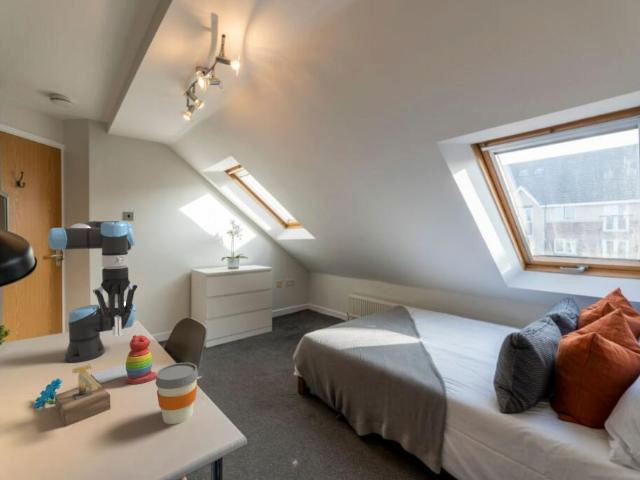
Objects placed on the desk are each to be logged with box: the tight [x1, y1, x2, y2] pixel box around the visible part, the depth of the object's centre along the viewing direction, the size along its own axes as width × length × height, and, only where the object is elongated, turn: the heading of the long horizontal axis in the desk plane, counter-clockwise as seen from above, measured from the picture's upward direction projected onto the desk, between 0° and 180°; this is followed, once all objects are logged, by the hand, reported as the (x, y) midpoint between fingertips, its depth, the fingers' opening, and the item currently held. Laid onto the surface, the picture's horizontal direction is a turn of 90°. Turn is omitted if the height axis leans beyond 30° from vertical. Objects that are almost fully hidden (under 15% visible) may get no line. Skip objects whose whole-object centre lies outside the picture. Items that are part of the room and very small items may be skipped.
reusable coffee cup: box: [155, 362, 199, 425], centre depth 102 cm, size 12×13×15 cm
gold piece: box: [72, 364, 98, 395], centre depth 101 cm, size 15×5×9 cm, turn 50°
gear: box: [33, 377, 63, 409], centre depth 110 cm, size 11×6×10 cm
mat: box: [90, 363, 128, 385], centre depth 131 cm, size 12×12×1 cm
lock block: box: [54, 381, 112, 427], centre depth 105 cm, size 14×12×5 cm
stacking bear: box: [125, 334, 157, 385], centre depth 126 cm, size 11×10×18 cm
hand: (117, 334), depth 108 cm, fingers closed
